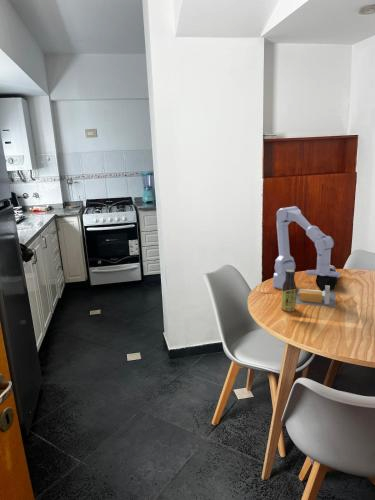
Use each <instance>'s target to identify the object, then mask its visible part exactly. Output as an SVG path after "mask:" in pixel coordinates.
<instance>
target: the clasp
mask: <svg viewBox="0 0 375 500" xmlns="http://www.w3.org/2000/svg"><path fill="white" fill-rule="evenodd" d="M324 291H325V301H324V304H325V305H329V295H330V291H331V290H330V285H325V290H324Z"/></svg>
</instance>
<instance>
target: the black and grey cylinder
mask: <svg viewBox="0 0 375 500" xmlns="http://www.w3.org/2000/svg"><path fill="white" fill-rule="evenodd" d="M330 271H334V272H337V269H336V267H335V266H334V265H331V264H330ZM315 277H316V278H315V284H316V286H317V288H319V289H320V285H319V282H318V280H317V276H315ZM338 280H339V277H332V276H329V279H328V281H327V283H326V285H330V291H332V290H334V289H335V288H336V287H337V283H338ZM322 286H323V278H322ZM324 291H325V287H324Z"/></svg>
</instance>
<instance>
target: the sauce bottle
mask: <svg viewBox="0 0 375 500" xmlns="http://www.w3.org/2000/svg"><path fill="white" fill-rule="evenodd" d="M285 273H286V278H285V281H284V283H283V288H282V289H281V304H280V306H281V307H280V308H281V310H282V311H283V312H286V313H288V312H289V313H290V312H291V313H292V312H295V310H296V306H297V304H296V295H297V284H296V282H295V274H296V271H295V270H291V269H288V270H286V272H285Z"/></svg>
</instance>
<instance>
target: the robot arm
mask: <svg viewBox="0 0 375 500" xmlns="http://www.w3.org/2000/svg"><path fill="white" fill-rule="evenodd" d="M291 222H296V224H297V225H299V226H300V227H301V228H303V230H304V231H305V234H306V236H307V237H308V238H309V239H310V240H311V241H312V242H313V243H314V247H315V249H316V253H317V255H316V256H317V257H316V269H307V270H306V276H316V277H317V280H318V282H319V285H320V288H319V290H321V291H325V290H324V287H325V285H326V283H327V281H328V279H329V276H332V277H338V279H339V278H340V277H341V272H339V271H336V272H334V271H330V265H331V254H332V249H333V248H334V245H335V241H334V239H333V238H332V236H330V235H326V234H325V233H323V231H322V230H320V228H319V227H318V226H316V225H312V224H311V223H310V222H309V221H308V220H307V219H306V217H305V216H304V215H303V214H302V210H301V209H299V207H298V206H296V205H294V206H289V207H287V206H286V207H281V208H279V209H278V210H277V211H276V233H277V246H278V256H277V258H276V259H275V260H274V261H275V263H274V273H273V279H272V281H273V282H272V283H273V284H272V289H279V290H282V288H283V283H284V281H285V278H286V273H285V272H286V270H288V269H291V270H294V271H295V270H296V262H295V259H294V258H295V257H293V256H292V255H291V253H290V252H291V251H290V239H289V238H290V237H289V224H290V223H291ZM322 278H323V286H322Z"/></svg>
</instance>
